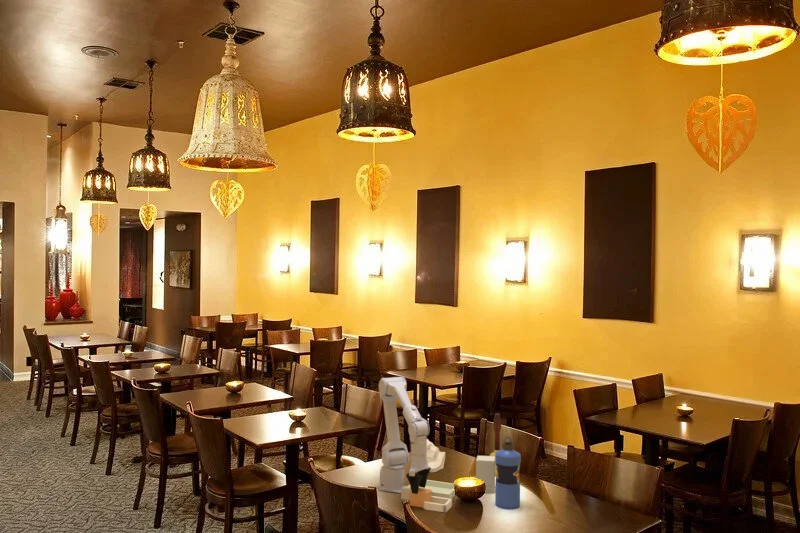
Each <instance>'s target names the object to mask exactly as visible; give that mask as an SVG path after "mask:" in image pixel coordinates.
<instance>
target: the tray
mask: <svg viewBox="0 0 800 533" xmlns="http://www.w3.org/2000/svg"><path fill="white" fill-rule="evenodd" d="M454 484H455V483H452V482H446V481H445V482H444V481H438V480H431V479H427V481H426V486H425V488H424V489H431V490H432V496H435V497H442V498H449V499H452V500H453V498H454V497H455V496H456V495H455V489H454ZM406 486H407V488H411V487H410V484H408V485H406ZM419 488H423V487H419Z"/></svg>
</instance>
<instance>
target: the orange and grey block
mask: <svg viewBox="0 0 800 533" xmlns="http://www.w3.org/2000/svg"><path fill="white" fill-rule="evenodd" d="M400 499H401V500H407V501H409V506H410V505H411V507H417V508H423V509H424V502H432V490H431V489H424V488H419V491H418V494H413V493H412V491H411V488H407V487H402V488H401V493H400Z"/></svg>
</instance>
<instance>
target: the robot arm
mask: <svg viewBox="0 0 800 533" xmlns="http://www.w3.org/2000/svg"><path fill="white" fill-rule="evenodd" d="M407 385H408V383H407V379H406V378H405V376H393V377H381V378H380V380H379V382H378V393H379V398H380V400H382V402H383V412H384V419H385V420H384V421H385V428H386V437H387V442H386V443H385V444H384V445H383V446H382V448H381V463H382V466H381V468H380V471H379V488H378V490H379V491H383V492H390V493H398V494H401V488H402V487H407V486H408V485H405V475H406V478H407V481H408V482H409V485H410V487H411V491H412V493H413V494H418V491H419V487H423V488H425V486H426V481H427V480H428V476H429V474H430V473H431V472H430V470H431V468H430V467H429V466H428V461H427V460H426V456H427V439H428V438H427V437H428V436H429V435H430V430H431V429H430V424H429V421H428V420H426V419H425V418H423V417H422V415H421V414H420V412H419V410H418V408H417V406H416V405H414V404H412V401H411V400H410V396H409V395H408V392H407V389H408V388H407V387H408V386H407ZM397 401H398V402H399V404H400V406H401V408H402V409H403V410H402V415H403V417H404V419H405V421H406V424H407V426H408V428H407V429H408V431H407V432H408V434H409V441H410V444H411V445H410V447H411V449H410V450H411V451H410V453H409V451H408V447H407V444H405V442H403V441H401V434H400V428H399V427H400V426H399V417H398V410H397ZM409 461H410V469H409V471H408V472H407V473H406V474H405V468H406V467H407V465H408V464H409Z"/></svg>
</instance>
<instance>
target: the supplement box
mask: <svg viewBox="0 0 800 533" xmlns="http://www.w3.org/2000/svg"><path fill="white" fill-rule="evenodd" d="M475 467H476V468H475V479H476V478H478V479H481V480H483V481H484V482H485V484H486V493H485V494H495V484H496V475H495V456H490V455H477V456H476V460H475Z"/></svg>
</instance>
